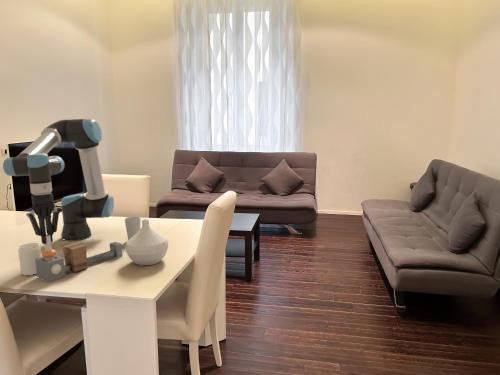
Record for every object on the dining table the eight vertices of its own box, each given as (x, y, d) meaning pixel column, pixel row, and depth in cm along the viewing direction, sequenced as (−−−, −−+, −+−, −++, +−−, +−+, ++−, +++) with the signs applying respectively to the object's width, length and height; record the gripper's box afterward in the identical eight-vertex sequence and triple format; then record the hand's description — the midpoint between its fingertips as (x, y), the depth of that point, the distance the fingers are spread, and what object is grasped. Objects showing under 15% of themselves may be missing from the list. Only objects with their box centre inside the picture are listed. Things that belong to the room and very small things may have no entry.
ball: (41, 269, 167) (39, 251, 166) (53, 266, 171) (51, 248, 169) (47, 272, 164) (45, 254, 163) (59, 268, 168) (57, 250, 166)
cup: (137, 243, 211) (136, 220, 209) (123, 242, 213) (121, 220, 211) (144, 238, 219) (143, 216, 217) (130, 238, 220) (129, 216, 218)
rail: (56, 273, 172) (55, 259, 171) (116, 254, 195) (115, 241, 194) (63, 275, 169) (61, 261, 168) (122, 255, 192) (121, 243, 191)
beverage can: (26, 269, 177) (23, 243, 175) (46, 268, 178) (43, 242, 176) (17, 277, 169) (14, 249, 167) (38, 276, 170) (34, 248, 168)
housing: (37, 277, 168) (35, 259, 166) (54, 272, 173) (52, 254, 172) (49, 282, 162) (46, 263, 161) (66, 277, 168) (64, 258, 166)
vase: (147, 272, 171) (144, 227, 167) (117, 264, 180) (114, 222, 177) (177, 258, 186) (175, 217, 183) (148, 252, 196) (145, 213, 192)
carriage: (65, 268, 176) (63, 246, 175) (78, 264, 181) (76, 242, 179) (74, 272, 172) (72, 249, 170) (87, 267, 177) (85, 245, 175)
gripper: (29, 196, 155) (36, 257, 158) (62, 191, 165) (68, 248, 169) (20, 195, 159) (27, 253, 163) (53, 189, 169) (59, 245, 173)
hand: (48, 250), depth 166 cm, fingers closed
